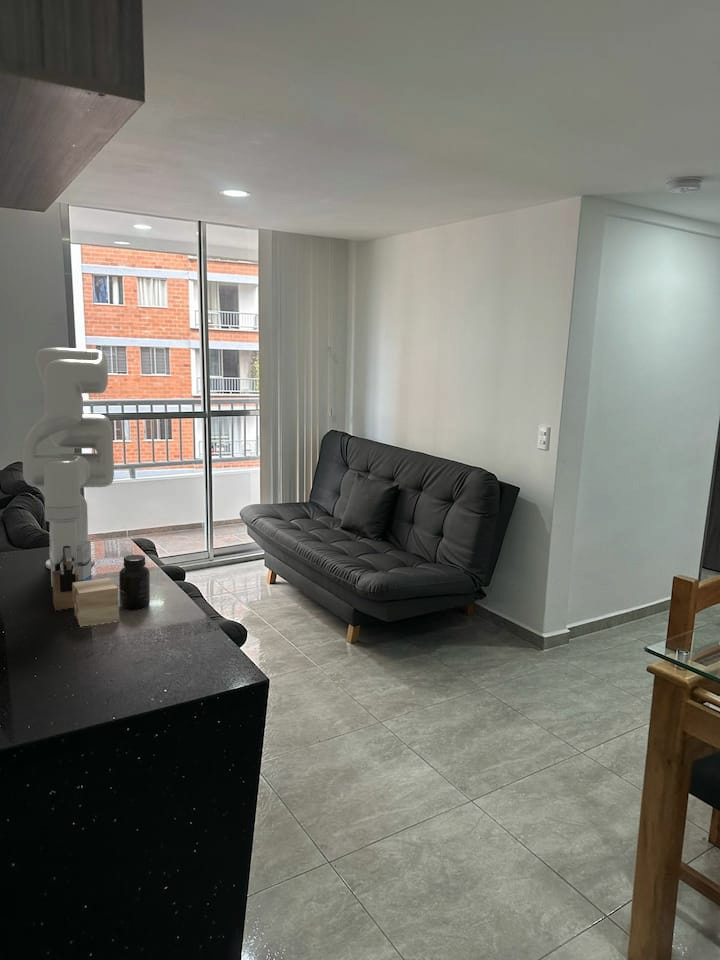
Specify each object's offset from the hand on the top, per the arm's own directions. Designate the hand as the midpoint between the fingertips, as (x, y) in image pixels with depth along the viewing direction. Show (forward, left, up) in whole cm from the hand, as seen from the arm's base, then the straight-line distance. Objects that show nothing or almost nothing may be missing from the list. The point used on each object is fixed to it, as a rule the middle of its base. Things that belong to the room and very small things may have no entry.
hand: (65, 585), depth 152 cm
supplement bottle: (+6, +14, -5) cm, 16 cm away
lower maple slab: (+10, +5, -6) cm, 13 cm away
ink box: (-15, +3, -6) cm, 16 cm away
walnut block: (-1, 0, -5) cm, 5 cm away
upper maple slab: (+10, +5, -2) cm, 11 cm away
